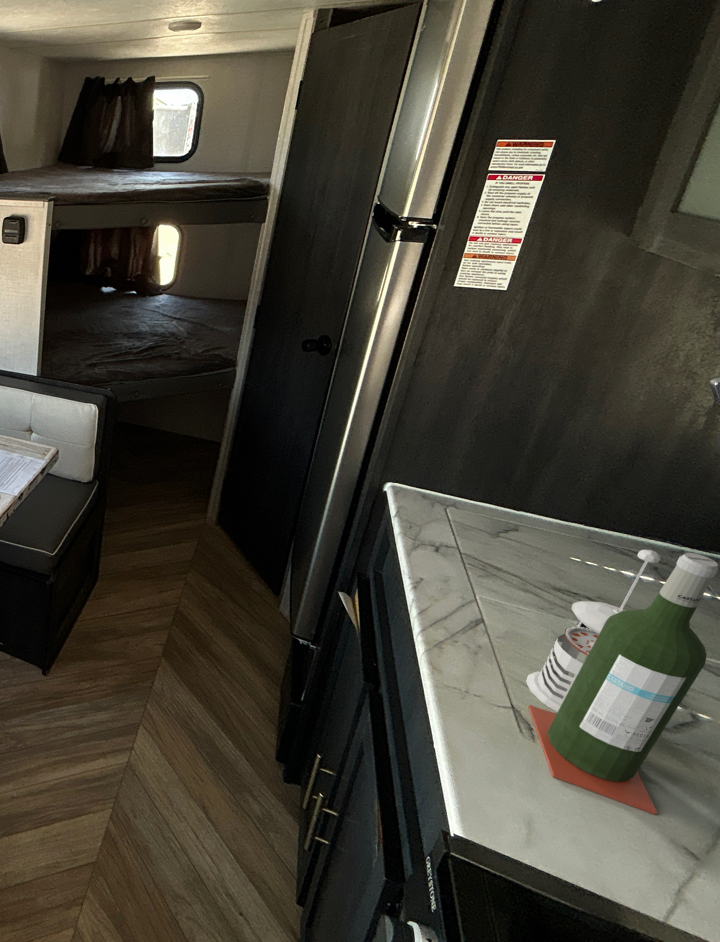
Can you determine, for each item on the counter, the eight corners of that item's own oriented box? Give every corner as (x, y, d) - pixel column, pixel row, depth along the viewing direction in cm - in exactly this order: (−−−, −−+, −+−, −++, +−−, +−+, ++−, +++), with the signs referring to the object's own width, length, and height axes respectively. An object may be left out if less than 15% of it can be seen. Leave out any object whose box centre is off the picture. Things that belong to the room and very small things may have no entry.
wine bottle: (614, 740, 81) (727, 548, 70) (647, 794, 75) (779, 591, 63) (535, 718, 84) (632, 531, 73) (561, 767, 78) (672, 570, 66)
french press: (529, 704, 87) (604, 555, 78) (521, 653, 96) (587, 514, 86) (631, 743, 81) (724, 587, 72) (612, 685, 90) (693, 540, 81)
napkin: (618, 736, 82) (619, 734, 82) (655, 815, 73) (657, 812, 73) (527, 706, 87) (529, 704, 87) (552, 776, 77) (553, 774, 77)
